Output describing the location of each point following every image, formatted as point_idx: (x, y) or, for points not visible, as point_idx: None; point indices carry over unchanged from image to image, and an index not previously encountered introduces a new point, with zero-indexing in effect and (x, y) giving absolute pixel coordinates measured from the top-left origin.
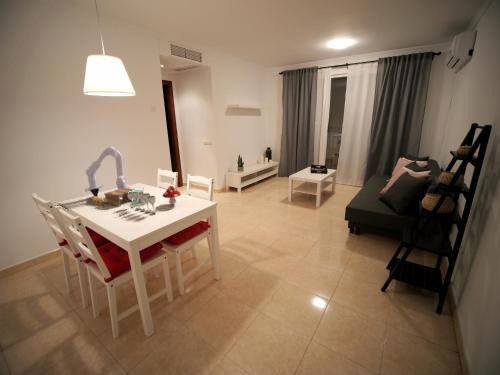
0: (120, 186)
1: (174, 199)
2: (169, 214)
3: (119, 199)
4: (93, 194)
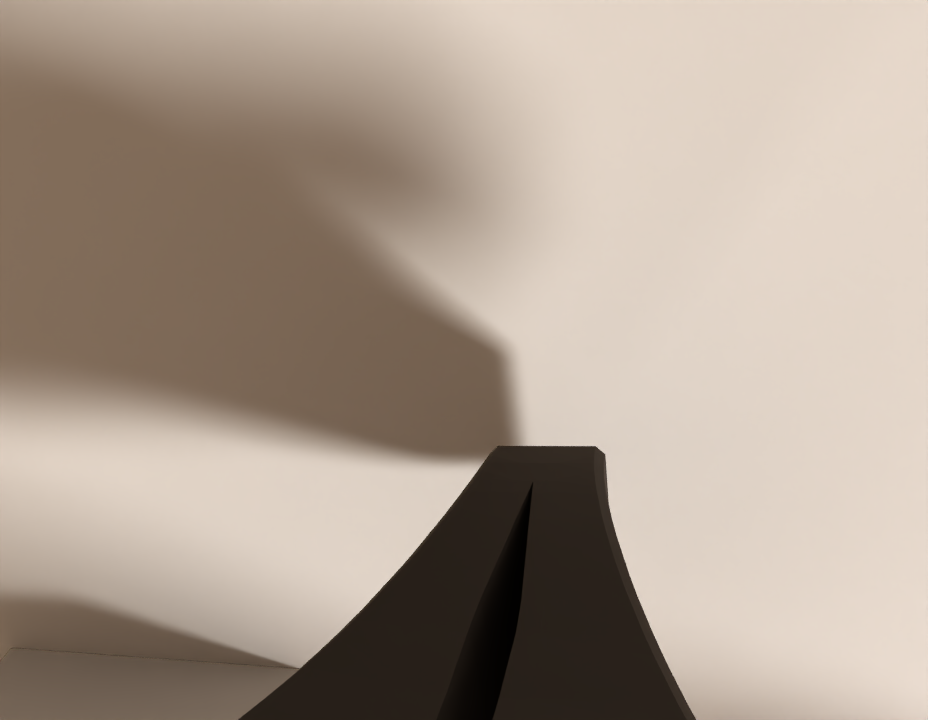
0: None
1: None
2: None
3: None
4: (416, 594)
